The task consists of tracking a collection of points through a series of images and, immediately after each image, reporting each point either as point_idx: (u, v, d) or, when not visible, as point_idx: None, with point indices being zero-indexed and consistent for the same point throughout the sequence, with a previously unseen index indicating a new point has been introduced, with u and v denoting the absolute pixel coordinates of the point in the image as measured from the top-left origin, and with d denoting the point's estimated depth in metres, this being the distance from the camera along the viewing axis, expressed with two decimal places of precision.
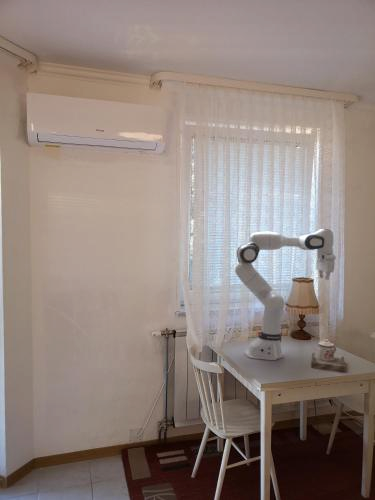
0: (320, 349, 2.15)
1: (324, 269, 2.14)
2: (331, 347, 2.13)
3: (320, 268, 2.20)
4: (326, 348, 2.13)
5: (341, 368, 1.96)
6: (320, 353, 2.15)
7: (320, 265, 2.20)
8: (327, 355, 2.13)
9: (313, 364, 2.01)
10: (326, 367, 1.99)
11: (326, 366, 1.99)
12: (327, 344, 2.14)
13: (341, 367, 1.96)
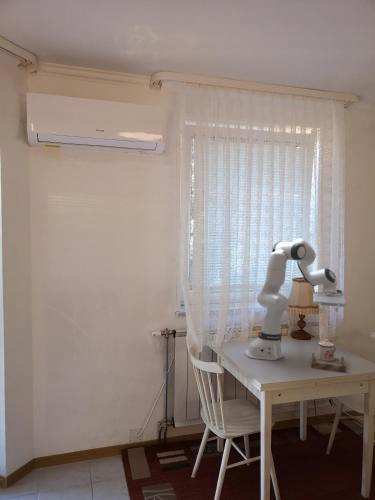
0: (320, 349, 2.15)
1: (337, 301, 2.34)
2: (331, 347, 2.13)
3: (326, 301, 2.37)
4: (327, 348, 2.13)
5: (341, 368, 1.96)
6: (320, 353, 2.15)
7: (326, 298, 2.38)
8: (327, 355, 2.13)
9: (313, 364, 2.01)
10: (326, 367, 1.99)
11: (326, 366, 1.99)
12: (327, 344, 2.14)
13: (341, 367, 1.96)
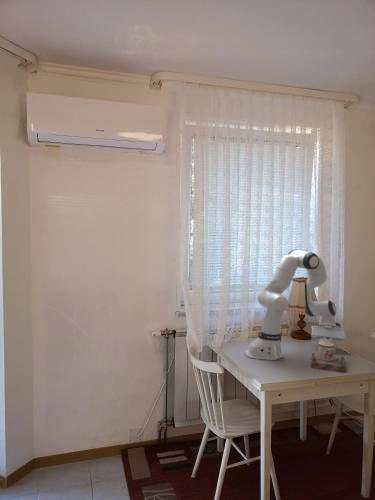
0: (320, 349, 2.15)
1: (336, 335, 2.29)
2: (331, 347, 2.13)
3: (325, 334, 2.31)
4: (327, 348, 2.13)
5: (341, 368, 1.96)
6: (320, 353, 2.15)
7: (324, 332, 2.33)
8: (327, 355, 2.13)
9: (313, 364, 2.01)
10: (326, 367, 1.99)
11: (326, 366, 1.99)
12: (327, 344, 2.14)
13: (341, 367, 1.96)
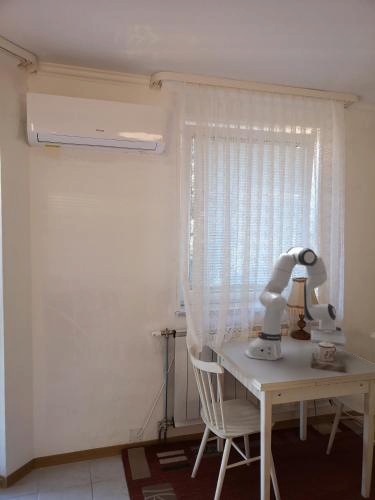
0: (320, 349, 2.14)
1: (336, 340, 2.19)
2: (331, 347, 2.12)
3: (325, 339, 2.21)
4: (326, 349, 2.12)
5: (341, 368, 1.96)
6: (320, 353, 2.14)
7: (324, 336, 2.23)
8: (327, 356, 2.12)
9: (313, 364, 2.01)
10: (326, 367, 1.99)
11: (326, 366, 1.99)
12: (327, 344, 2.13)
13: (341, 367, 1.96)
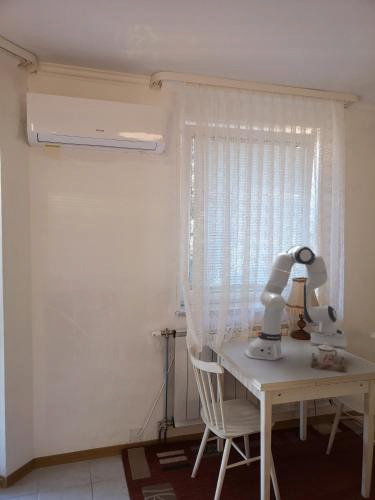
0: (319, 353, 2.08)
1: (337, 344, 2.12)
2: (330, 351, 2.05)
3: (325, 342, 2.14)
4: (325, 352, 2.05)
5: (341, 368, 1.96)
6: (319, 357, 2.08)
7: (325, 339, 2.16)
8: (326, 359, 2.05)
9: (313, 364, 2.01)
10: (326, 367, 1.99)
11: (326, 366, 1.99)
12: (326, 348, 2.06)
13: (341, 367, 1.96)
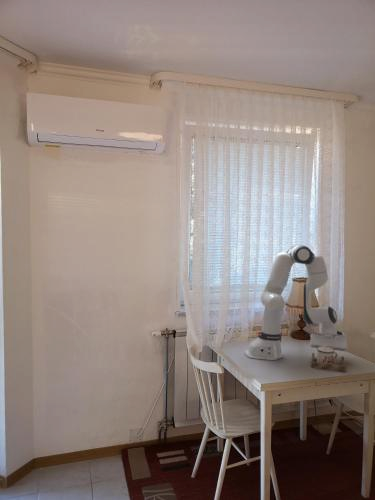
0: (318, 354, 2.05)
1: (337, 345, 2.09)
2: (330, 353, 2.02)
3: None
4: (325, 354, 2.02)
5: (341, 368, 1.96)
6: (318, 359, 2.05)
7: (325, 341, 2.12)
8: (325, 361, 2.02)
9: (313, 364, 2.01)
10: (326, 367, 1.99)
11: (326, 366, 1.99)
12: (325, 349, 2.03)
13: (341, 367, 1.96)
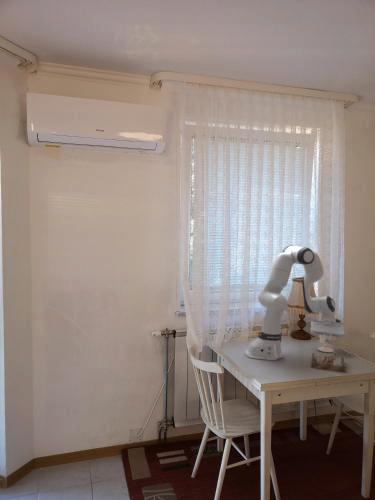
0: (318, 354, 2.05)
1: (336, 332, 2.25)
2: (330, 353, 2.02)
3: (324, 331, 2.27)
4: (325, 354, 2.02)
5: (341, 368, 1.96)
6: (318, 359, 2.05)
7: (324, 328, 2.29)
8: (325, 361, 2.02)
9: (313, 364, 2.01)
10: (326, 367, 1.99)
11: (326, 366, 1.99)
12: (326, 349, 2.03)
13: (341, 367, 1.96)
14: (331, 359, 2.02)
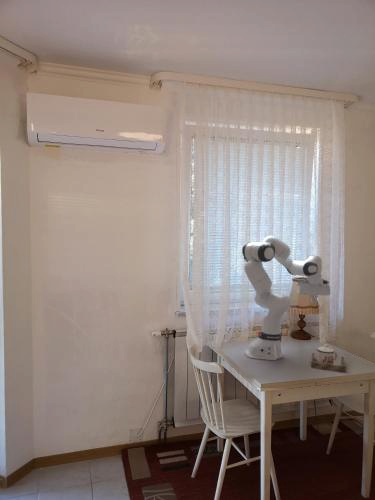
0: (318, 354, 2.05)
1: (322, 293, 2.32)
2: (330, 353, 2.02)
3: (312, 293, 2.32)
4: (325, 354, 2.02)
5: (341, 368, 1.96)
6: (318, 359, 2.05)
7: (311, 290, 2.32)
8: (325, 361, 2.02)
9: (313, 364, 2.01)
10: (326, 367, 1.99)
11: (326, 366, 1.99)
12: (326, 349, 2.03)
13: (341, 367, 1.96)
14: (331, 359, 2.02)
